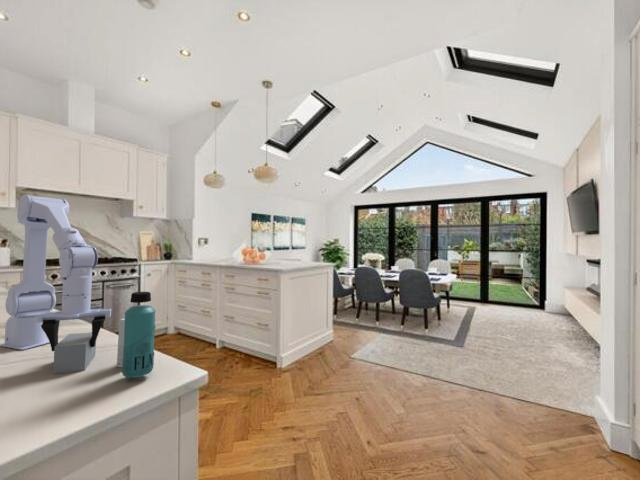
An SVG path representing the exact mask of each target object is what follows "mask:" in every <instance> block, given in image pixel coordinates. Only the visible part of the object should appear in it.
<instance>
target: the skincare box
mask: <svg viewBox="0 0 640 480" xmlns="http://www.w3.org/2000/svg"><path fill="white" fill-rule="evenodd" d="M124 328H125V317H124V318H121V319H119V323H118V339H117V340H118V341H117V355H116V367H117V368H122V367H123V354H122V353H123V348H124Z"/></svg>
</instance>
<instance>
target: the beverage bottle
mask: <svg viewBox="0 0 640 480" xmlns="http://www.w3.org/2000/svg"><path fill="white" fill-rule="evenodd" d="M151 296H152V295H151V291H136V292H132V293H131V295H130V303H133V304H139V303H140V304H141V303H149V302H151V301H152V297H151ZM124 318H125V328H124V348H123V353H122V354H123V367H121V372H122V376H123V377H125V378H139V377H144V376H146V375H148V374H150V373H151V372H152V371H153V369H154V367H155V360H154V358H155V350H156V349H155V335H156V309H155V308H154V307H152V306H151V305H147V304H145V305H144V304H142V305H133V306H131V307H129V308H128V309H127V310H126V311H125V312H124Z"/></svg>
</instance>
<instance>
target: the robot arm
mask: <svg viewBox="0 0 640 480" xmlns="http://www.w3.org/2000/svg"><path fill="white" fill-rule="evenodd" d="M69 214H70V204H69V202H68V200H66V199H64V198H55V197H54V198H53V197H46V196H45V197H44V196H36V195H31V194H23V195H22V196H20V198H19V201H18V202H17V223H19V224H20V225H23V226H24V246H23V262H22V263H23V265H22V266H23V267H22V281H20V282H19V283H16V284H14V285H13V286H11V287H10V288H9V289H8V291H7V296H6V299H5V311H6V313H7V314H8V315H9V316H10V317H9V318H8V319H7V320H6V322H5V332H4V342H3V343H1V344H0V347H5V348H9V349H15V350H19V351H25V350H27V349H31V348H36V347H39V346H42V345H47V344H50V347H51V352H54V347H55V346H56V345H57V344H58V343H59V329H60V322H61V321H69V320H70V321H71V320H84V319H85V320H86V319H87V320H88V319H92V320H91V332H92V339H91V347H94V346H95V344H96V345H97V339H98V336H99V333H100V330H101V328H102V326H103V324H104V323H105V321H106V319H108V318H111V315H112V308H91V305H92V303H91V301H92V287H93V285H92V284H93V283H92V281H93V269H95V268H96V267H97V265H98V262H99V261H98V260H99V254H98V251H97V249H96V247H95V246H91V245H90V244H89V245H88V244H87V243H86V241H85V240H84V238H83V237H82V235H81V233H80V232H79V230H78V229H77V228H74V227H72V226H71V224H70V221H69V219H68V217H69ZM50 228H51V229H52V231H53V232H54V233H53V234H52V241H53V242H54V245H55V247H56V248H57V250H58V252H59V253H60V254H59V257H58V263H59V267H60V275H61V277H62V278H63V279H62V294H61V296H62V297H61V310H58V311H57V310H56V311H52V310H54V308H55V306H56V305H57V296H56V290H55V286H54V285H52V284H51V283H48V282H47V281H46V280H45V279H46V265H47V262H46V261H47V246H48V230H49V229H50Z"/></svg>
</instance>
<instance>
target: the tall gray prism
mask: <svg viewBox="0 0 640 480" xmlns="http://www.w3.org/2000/svg"><path fill="white" fill-rule="evenodd" d="M91 339H92V331H91V332H79V333H68V334H67V335H66V336H65V337H64V338H63V339H61V341H58V344H57V345H56V346H55V347H54V351H53V352H54V354H53V369H52V370H53V371H52V374H53V375H57V374H64V373H75V372H82V371H86V370H87V368H88V367H89V365H90V363H91V362H92V361H93V359H94V358H95V357H96V350H97V349H96V347H97V343H96V344H95V346H94V347H91Z"/></svg>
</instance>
